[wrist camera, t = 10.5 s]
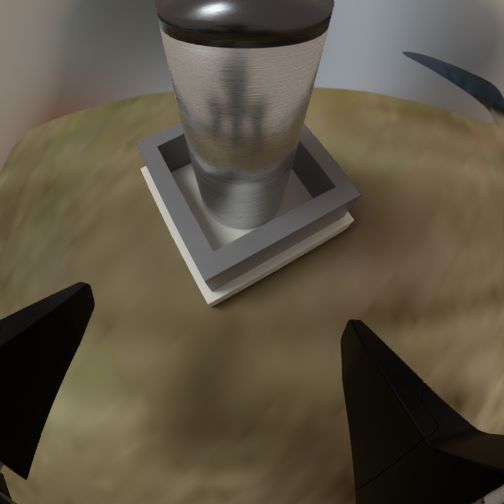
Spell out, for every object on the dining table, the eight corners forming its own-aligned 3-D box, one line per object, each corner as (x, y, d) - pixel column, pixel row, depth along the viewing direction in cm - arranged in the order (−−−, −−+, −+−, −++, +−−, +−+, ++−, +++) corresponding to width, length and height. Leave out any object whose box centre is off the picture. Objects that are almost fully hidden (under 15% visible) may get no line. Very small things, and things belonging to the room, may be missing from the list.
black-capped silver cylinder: (287, 227, 17) (357, 32, 5) (200, 230, 17) (135, 33, 5) (279, 157, 18) (313, -26, 6) (202, 159, 18) (171, -25, 6)
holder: (346, 228, 19) (372, 198, 14) (211, 307, 17) (199, 296, 13) (267, 123, 21) (272, 81, 17) (146, 180, 19) (126, 142, 15)
